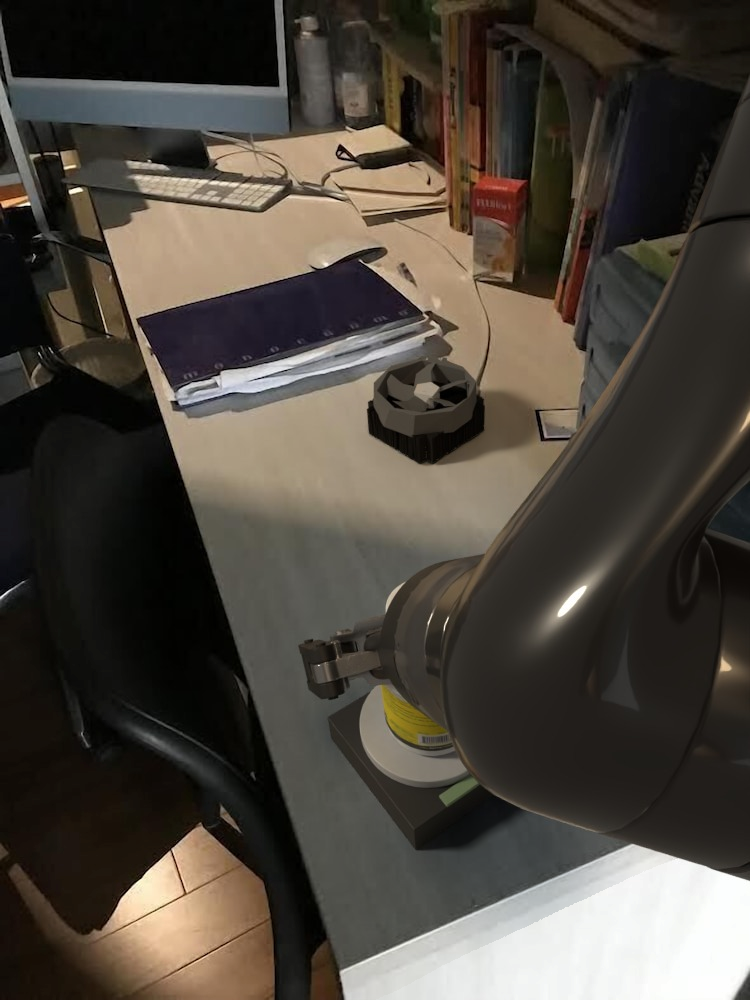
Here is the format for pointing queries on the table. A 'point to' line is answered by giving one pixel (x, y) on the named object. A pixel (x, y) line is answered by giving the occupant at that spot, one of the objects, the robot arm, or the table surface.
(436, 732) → the pill bottle
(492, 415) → the table surface
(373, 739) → the scale
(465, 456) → the table surface
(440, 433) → the cpu cooler
